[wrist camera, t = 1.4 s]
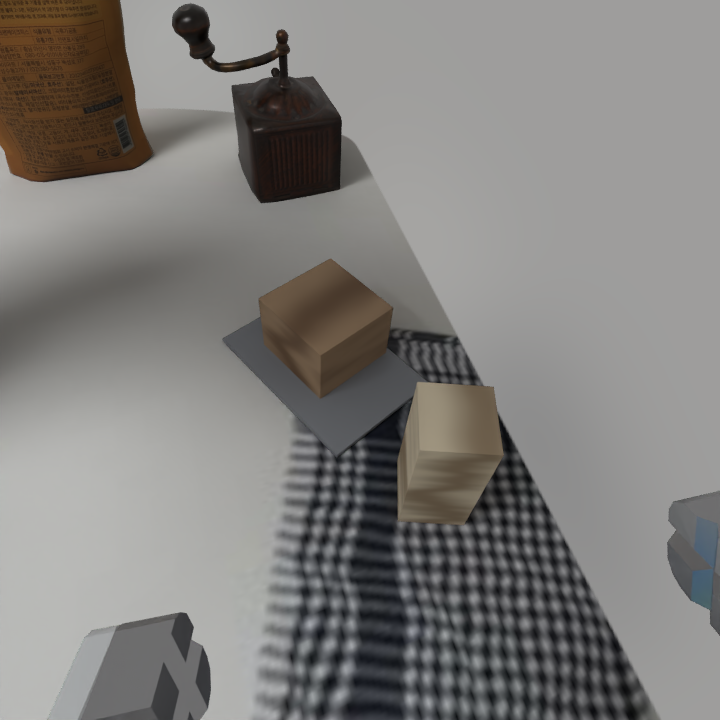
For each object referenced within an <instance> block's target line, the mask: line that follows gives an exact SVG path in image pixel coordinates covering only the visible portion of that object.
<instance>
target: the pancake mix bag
mask: <svg viewBox="0 0 720 720" xmlns="http://www.w3.org/2000/svg"><path fill="white" fill-rule="evenodd" d="M0 146H1V147H2V148H3V150H4V151H5V155H6V159H7V163H8V167H9V170H10V173H12V174H14V175H17V176H19V177H22V178H24V179H27V180H29V181H37V182H48V181H54V180H60V179H66V178H73V177H80V176H86V175H92V174H99V173H105V172H113V171H122V170H130V169H133V168H136V167H138V166H140V165H141V164H143V163H144V162H145V161H146V160H148V159H149V158H150V157H151V155H152V154H153V153H154V152H153V150H152V148H151V146H150V144H149V142H148V140H147V138H146V136H145V134H144V131H143V128H142V125H141V123H140V119H139V116H138V112H137V107H136V101H135V88H134V84H133V80H132V76H131V71H130V66H129V62H128V58H127V53H126V49H125V37H124V26H123V17H122V10H121V4H120V0H0Z"/></svg>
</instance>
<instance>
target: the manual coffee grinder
mask: <svg viewBox="0 0 720 720" xmlns="http://www.w3.org/2000/svg"><path fill="white" fill-rule="evenodd" d="M172 18H173V19H172V26H173V28H174V31H175V32H176V33H177V34H178V35H180V36H181V37H182V38H184V39H185V40H186V42H187V43H188V44H189V47H190V56H191V57H192V58H194V59H202V60H203V62H204V63H205V64H206V65H207V66H208V67H210V68H211V69H212V70H215V71H218V72H235V71H241V70H245V69H249V68H253V67H257V66H261V65H264V64H267V63H269V62H271V61H273V60H275V59H276V58H278V57H279V67H280V71H279V69H277V68H273V69H272V70H271V73H272V76H273V77H269V78H265V79H261V80H259V81H257V82H255V83H248V84H239V85H232V95H233V103H234V112H235V120H236V127H237V134H238V146H239V154H238V156H239V160H240V163H241V167H242V170H243V172H244V175H245V177H246V179H247V181H248V184H249V186H250V188H251V190H252V192H253V193H254V194H255V196H256V197H257V199H258V200H259V201H260V203H269V202H278V201H284V200H290V199H295V198H301V197H306V196H311V195H316V194H320V193H325V192H329V191H334V190H338V189H340V164H341V127H342V120H341V116H340V115H339V113H338V112H337V110H336V108H335V107H334V105H333V104H332V103H331V101H330V100H329V98H328V97H327V95H326V94H325V92H324V91H323V89H322V88H321V86H320V85H319V84H318V82H317V81H316V80H315V78H314V77H302V78H293V77H288V69H287V54H288V53H289V52H290V48H289V46H288V44H287V41H288V34H287V32H286V31H285V30H282V29H281V30H278V31H277V34H276V38H277V42H278V44H277V46H276V49H275V50H273V51H271V52H268V53H266V54H263V55H261V56H258V57H254V58H251V59H247V60H242V61H238V62H233V63H219V62H217V61H216V60H214V59H213V58H212V55H213V53H214V51H215V46H214V45H213V44H212V42H211V41H210V40H209V38H208V31H209V27H210V22H209V17H208V14H207V12H206V11H205V9H204V8H203V7H200V6H198V5H195V4H185V5H183V6H181V7H179V8H178V9H177V10H176V11H175V13H174V14H173V17H172ZM279 74H280V76H279Z"/></svg>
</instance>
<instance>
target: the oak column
mask: <svg viewBox="0 0 720 720" xmlns="http://www.w3.org/2000/svg"><path fill="white" fill-rule="evenodd" d="M503 456H504V455H503V448H502V441H501V434H500V427H499V421H498V414H497V407H496V400H495V394H494V387H488V386H487V387H486V386H473V385H457V384H442V383H427V382H417V385H416V389H415V393H414V397H413V401H412V405H411V409H410V413H409V417H408V421H407V425H406V429H405V433H404V437H403V441H402V445H401V449H400V453H399V457H398V461H397V469H398V521H403V522H420V523H437V524H454V525H464V524H465V522H466V520H467V519H468V517H469V515H470V513H471V512H472V510H473V508H474V506H475V505H476V503H477V501H478V499H479V498H480V496H481V494H482V492H483V491H484V489H485V487H486V485H487V484H488V482H489V480H490V478H491V477H492V475H493V473H494V471H495V470H496V468H497V466H498V464H499V463H500V461H501V459H502V457H503Z"/></svg>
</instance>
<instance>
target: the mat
mask: <svg viewBox="0 0 720 720" xmlns="http://www.w3.org/2000/svg"><path fill="white" fill-rule="evenodd" d="M223 342H224V343H225V344H226V345H227V346H228V347H229V348H230V349H231V350H232V351H233V352H234V353H235V354H236V355H237V356H238V357H239V358H240V359H241V360H242V361H243V362H244V363H245V364H246V365H247V366H248V367H249V368H250V369H251V370H252V371H253V372H254V373H255V374H256V375H257V377H258V378H259V379H260V380H261V381H262V382H263V383H264V384H265V385H266V386H267V387H268V388H269V389H270V390H271V391H272V392H273V393H274V394H275V395H276V396H277V397H278V398H279V399H280V400H281V401H282V402H283V403H284V404H285V405H286V406H287V407H288V408H289V409H290V410H291V411H292V412H293V413H294V414H295V415H296V416H297V417H298V418H299V419H300V421H301V422H302V423H303V424H304V425H305V426H306V427H307V428H308V429H309V430H310V431H311V432H312V433H313V434H314V435H315V436H316V437H317V438H318V439H319V440H320V441H321V442H322V443H323V444H324V445H325V446H326V447H327V448H328V449H329V450H330V451H331V452H332V453H333V454H334V455H335V456H336V457H338V456H340V455H341V454H342V453H343V452H345V451H346V450H347V449H348V448H350V447H351V446H352V445H353V444H355V443H356V442H357V441H359V440H360V439H361V438H362V437H364V436H365V435H366V434H367V433H369V432H370V431H371V430H373V429H374V428H375V427H376V426H378V425H379V424H380V423H381V422H383V421H384V420H385V419H387V418H388V417H389V416H390V415H392V414H393V413H394V412H395V411H397V410H398V409H399V408H400V407H402V406H403V405H404V404H406V403H407V402H408V401H409V400H411V399H412V398H413V397H414V393H415V389H416V385H417V382H427V381H426V380H425V379H424V378H422V377H421V376H420V375H419V374H418V373H417V372H415V371H414V370H413V369H412V368H411V367H409V366H408V365H407V364H406V363H405V362H403V361H402V360H401V359H400V358H399V357H398V356H396V355H395V354H394V353H393V352H392V351H390V350H389V349H388V348H387V349H386V353H385V354H383V355H382V356H380V357H379V358H378V359H376V360H375V361H373V362H372V363H371V364H369V365H368V366H366V367H365V368H363V369H362V370H361V371H359V372H358V373H356V374H355V375H354V376H352V377H351V378H349V379H348V380H346V381H345V382H344V383H342V384H341V385H339V386H338V387H337V388H335V389H334V390H332V391H331V392H330V393H328V394H327V395H325V396H324V397H322V398H321V399H320V398H319V397H318V396H317V395H316V394H315V393H314V392H313V391H312V390H310V389H309V388H308V387H307V386H306V385H305V384H304V383H303V382H302V381H301V380H300V379H299V378H298V377H297V376H296V375H295V374H294V373H293V372H292V371H291V370H290V369H289V368H288V367H287V366H286V365H285V364H284V363H283V362H282V361H281V360H280V359H279V358H278V357H277V356H276V355H275V354H273V353H272V352H271V351H270V350H269V349H268V348H267V347H266V346H265V345H264V339H263V331H262V323H261V317H259V318H258V319H256V320H254V321H252V322H251V323H249V324H247V325H246V326H244V327H242V328H240V329H239V330H237V331H235V332H233V333H232V334H230V335H228V336H226V337H225V338H223ZM427 383H428V382H427Z"/></svg>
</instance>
